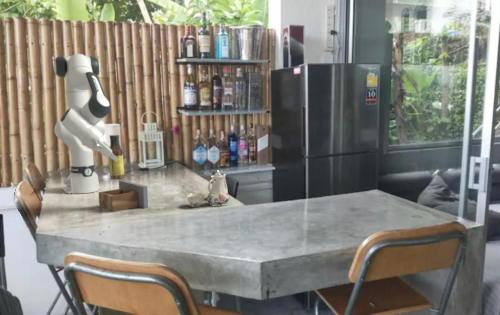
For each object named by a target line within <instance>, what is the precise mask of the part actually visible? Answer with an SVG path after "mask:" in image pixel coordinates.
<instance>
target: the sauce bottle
mask: <svg viewBox="0 0 500 315" xmlns="http://www.w3.org/2000/svg"><path fill="white" fill-rule="evenodd" d="M119 138H120V135H119V134H110V135H109V142H110V143H109V145H110V148H111V149H112V153H113V154H114V155H115V156H116V157H117V158H119V160H118V162H116V161H114V160H113V159H111V158H110V157H108V163H109V166H108V167H109V173H110V174H109V175H110V179H111V180H123V179H124V178H125V163H124V154H123V150H122V146H121V145H120V140H119Z"/></svg>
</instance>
